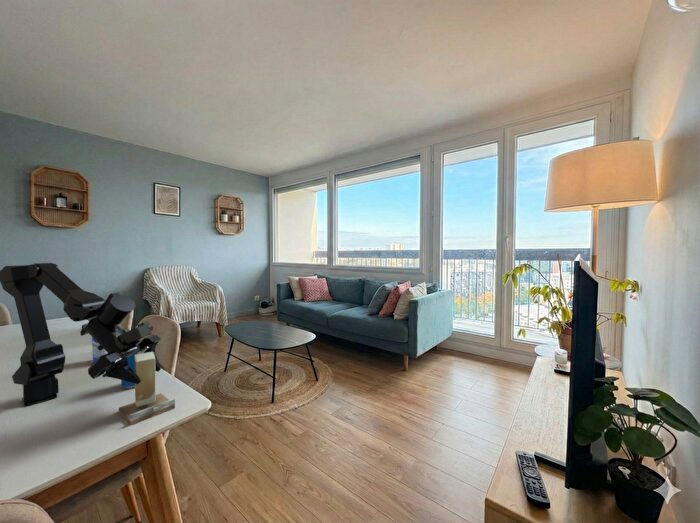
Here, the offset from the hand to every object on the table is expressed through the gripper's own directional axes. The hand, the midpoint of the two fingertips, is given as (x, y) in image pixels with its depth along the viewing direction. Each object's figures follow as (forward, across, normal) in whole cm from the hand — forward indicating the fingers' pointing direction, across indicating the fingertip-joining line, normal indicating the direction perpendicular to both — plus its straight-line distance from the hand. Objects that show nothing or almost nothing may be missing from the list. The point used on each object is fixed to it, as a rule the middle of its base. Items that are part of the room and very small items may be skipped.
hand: (149, 376), depth 78 cm
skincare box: (+4, 0, +6) cm, 7 cm away
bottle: (-23, +32, +37) cm, 54 cm away
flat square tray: (+6, 0, +7) cm, 9 cm away
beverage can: (-4, +14, +18) cm, 23 cm away
